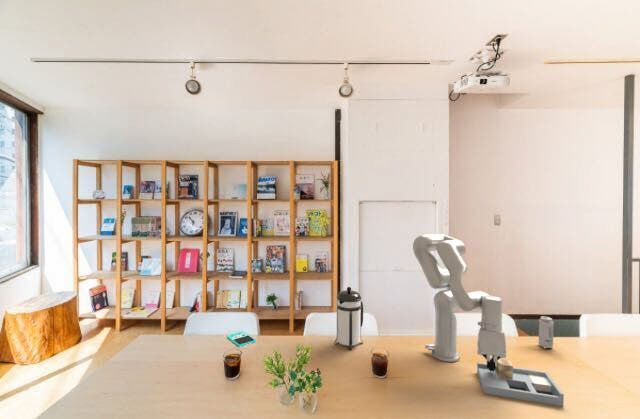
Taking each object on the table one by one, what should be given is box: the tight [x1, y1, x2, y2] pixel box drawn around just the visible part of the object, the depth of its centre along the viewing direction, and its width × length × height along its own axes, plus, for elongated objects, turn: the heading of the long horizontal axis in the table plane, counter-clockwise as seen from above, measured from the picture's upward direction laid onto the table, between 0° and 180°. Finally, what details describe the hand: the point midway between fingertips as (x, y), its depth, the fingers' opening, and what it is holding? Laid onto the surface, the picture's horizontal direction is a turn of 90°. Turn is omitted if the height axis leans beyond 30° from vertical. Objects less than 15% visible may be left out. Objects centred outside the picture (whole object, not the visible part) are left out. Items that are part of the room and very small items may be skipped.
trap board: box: [476, 361, 565, 407], centre depth 128 cm, size 26×16×4 cm, turn 73°
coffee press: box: [333, 286, 364, 351], centre depth 167 cm, size 17×16×30 cm
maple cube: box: [496, 358, 514, 379], centre depth 132 cm, size 5×5×5 cm
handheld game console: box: [227, 330, 257, 348], centre depth 172 cm, size 10×16×1 cm, turn 39°
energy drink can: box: [538, 315, 554, 349], centre depth 164 cm, size 6×6×15 cm
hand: (491, 369), depth 134 cm, fingers closed
